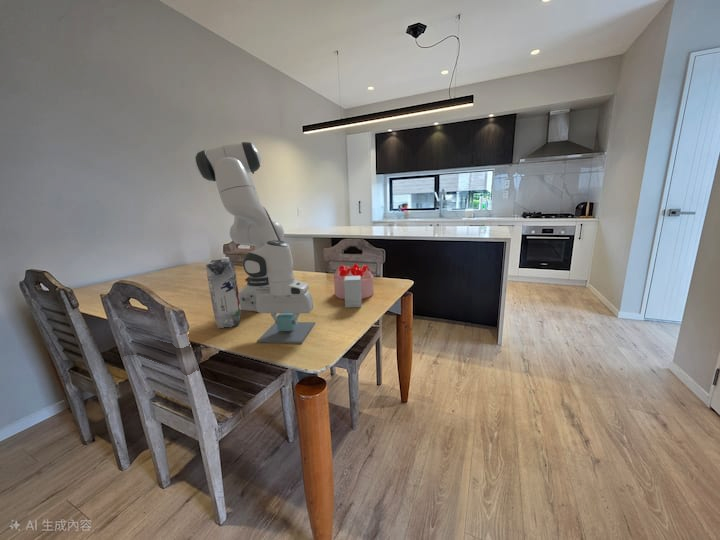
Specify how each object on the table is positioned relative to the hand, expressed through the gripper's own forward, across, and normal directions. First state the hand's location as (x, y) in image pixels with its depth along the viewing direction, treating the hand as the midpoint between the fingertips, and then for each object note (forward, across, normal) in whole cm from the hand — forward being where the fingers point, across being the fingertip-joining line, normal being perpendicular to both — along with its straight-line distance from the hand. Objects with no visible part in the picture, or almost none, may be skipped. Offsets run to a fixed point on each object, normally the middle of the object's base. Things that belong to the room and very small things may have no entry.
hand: (286, 323), depth 103 cm
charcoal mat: (+4, 0, 0) cm, 4 cm away
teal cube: (+2, 0, 0) cm, 2 cm away
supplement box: (+4, +20, +29) cm, 35 cm away
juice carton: (+4, -27, +7) cm, 28 cm away
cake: (+4, +18, +44) cm, 48 cm away
